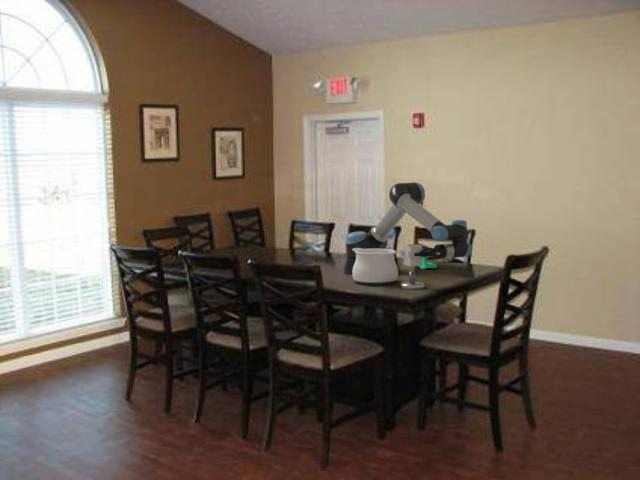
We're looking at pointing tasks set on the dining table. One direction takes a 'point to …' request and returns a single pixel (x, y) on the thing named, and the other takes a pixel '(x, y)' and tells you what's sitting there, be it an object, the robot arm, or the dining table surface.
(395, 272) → the pot
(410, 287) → the hub plate
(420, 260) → the box with orange strip
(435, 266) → the camera mount
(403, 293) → the dining table surface
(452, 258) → the passion flower
